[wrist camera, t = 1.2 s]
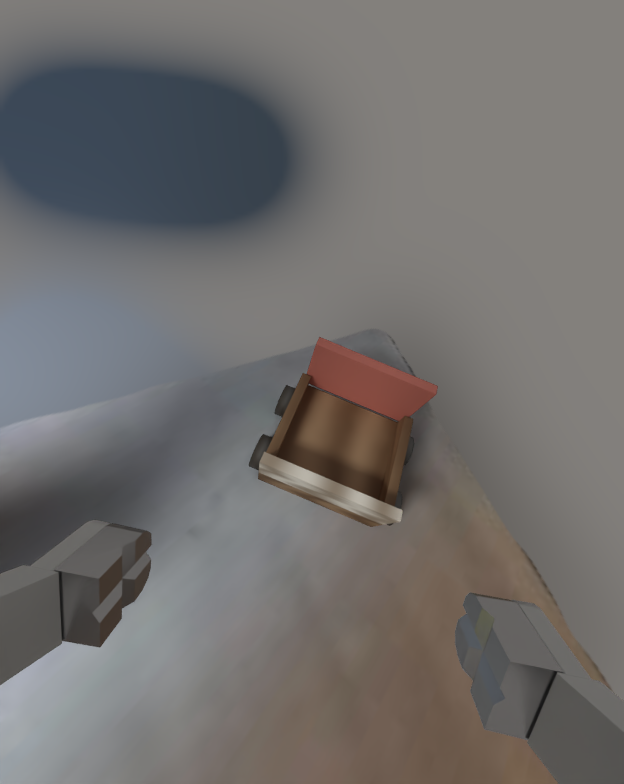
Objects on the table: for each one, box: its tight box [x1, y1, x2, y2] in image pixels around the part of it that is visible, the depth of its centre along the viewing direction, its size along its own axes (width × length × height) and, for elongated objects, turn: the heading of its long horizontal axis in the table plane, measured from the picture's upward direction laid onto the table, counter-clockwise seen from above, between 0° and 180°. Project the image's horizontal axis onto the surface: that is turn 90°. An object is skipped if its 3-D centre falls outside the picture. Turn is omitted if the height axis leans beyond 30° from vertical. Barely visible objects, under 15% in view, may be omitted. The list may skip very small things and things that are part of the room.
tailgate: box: [307, 337, 438, 421], centre depth 39 cm, size 15×2×9 cm, turn 69°
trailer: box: [249, 373, 414, 527], centre depth 39 cm, size 19×14×9 cm
